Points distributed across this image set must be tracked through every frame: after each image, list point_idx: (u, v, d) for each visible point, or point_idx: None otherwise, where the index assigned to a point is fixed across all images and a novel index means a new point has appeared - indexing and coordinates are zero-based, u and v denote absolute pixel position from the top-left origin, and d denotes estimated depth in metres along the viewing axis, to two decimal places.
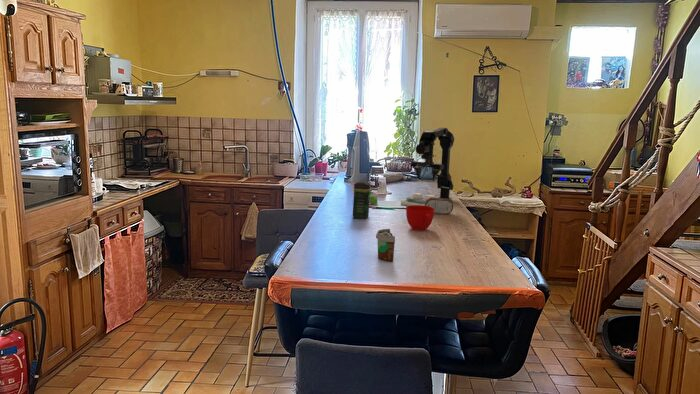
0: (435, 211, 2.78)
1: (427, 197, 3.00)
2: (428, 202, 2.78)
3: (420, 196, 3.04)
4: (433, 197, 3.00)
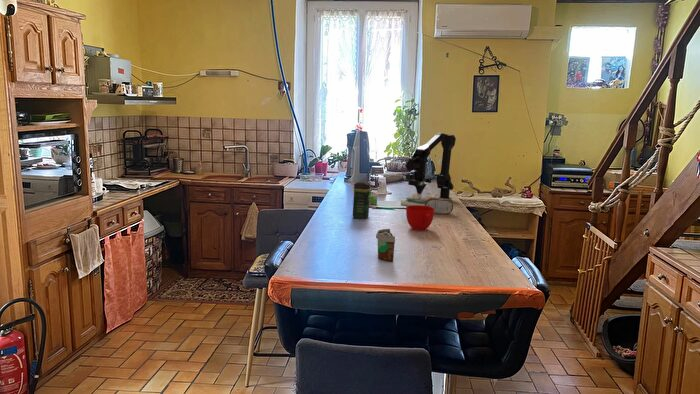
0: (435, 211, 2.78)
1: (427, 197, 3.00)
2: (428, 202, 2.78)
3: (419, 196, 3.03)
4: (433, 197, 3.00)
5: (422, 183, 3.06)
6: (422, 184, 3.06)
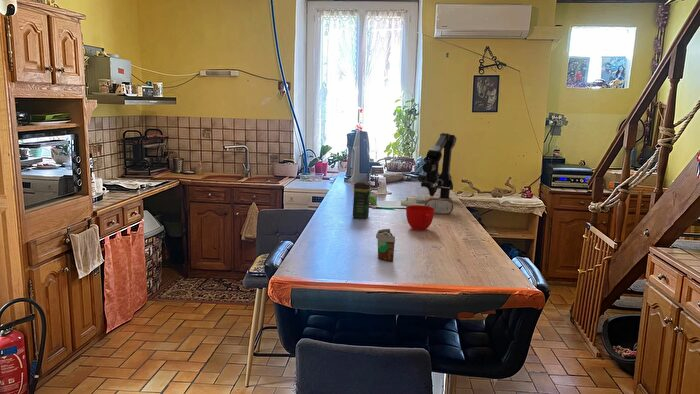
0: (435, 211, 2.78)
1: (426, 197, 2.99)
2: (428, 202, 2.78)
3: (415, 202, 2.97)
4: (432, 197, 2.99)
5: (434, 185, 3.02)
6: None
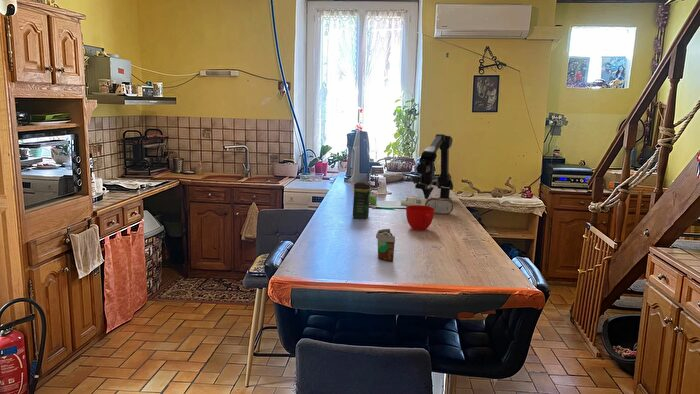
0: (435, 211, 2.78)
1: None
2: (428, 202, 2.78)
3: (415, 202, 2.97)
4: None
5: None
6: (429, 187, 2.96)
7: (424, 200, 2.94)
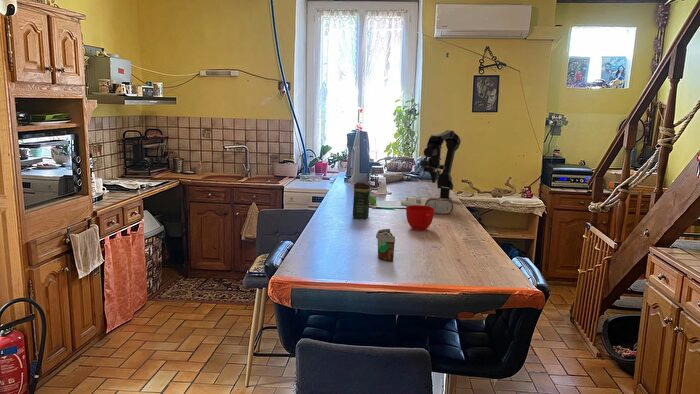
0: (435, 211, 2.78)
1: None
2: (428, 202, 2.78)
3: (415, 202, 2.97)
4: None
5: (437, 170, 3.06)
6: None
7: (424, 200, 2.94)
